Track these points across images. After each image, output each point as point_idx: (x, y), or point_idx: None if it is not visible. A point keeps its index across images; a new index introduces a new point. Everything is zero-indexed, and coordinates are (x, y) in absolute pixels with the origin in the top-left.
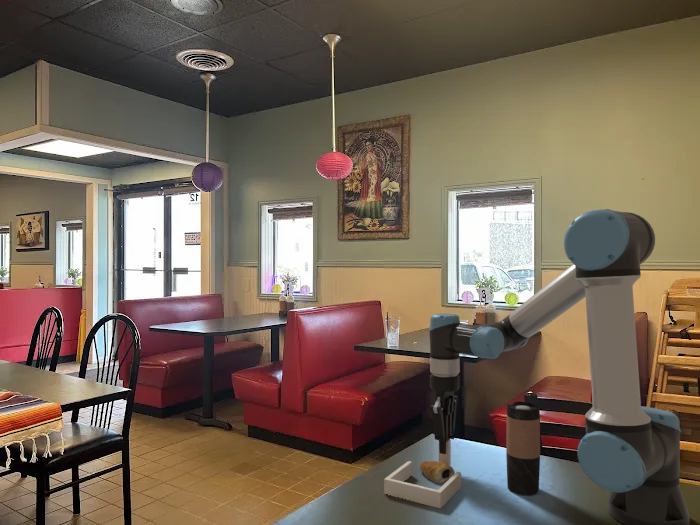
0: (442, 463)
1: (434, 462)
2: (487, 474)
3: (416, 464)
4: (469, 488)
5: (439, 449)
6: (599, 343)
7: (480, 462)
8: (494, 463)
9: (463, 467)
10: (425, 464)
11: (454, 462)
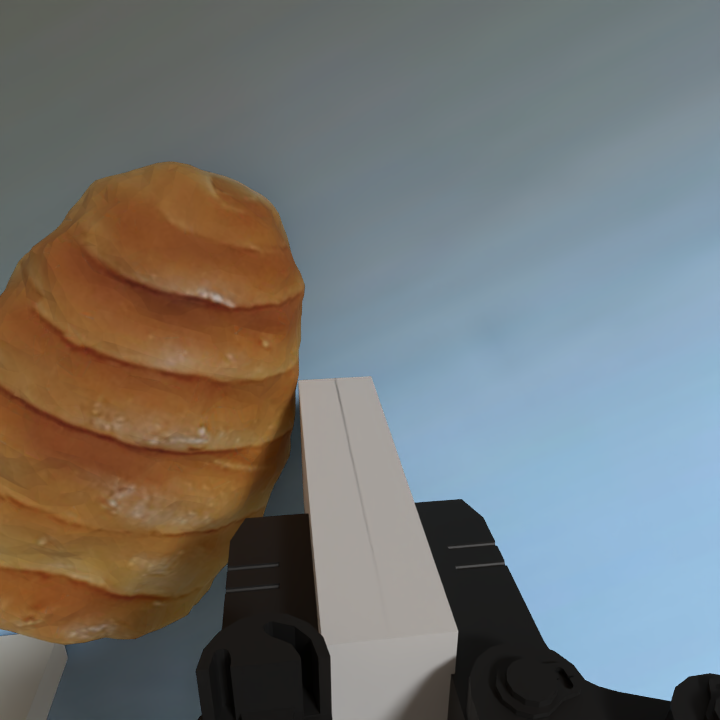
0: (135, 548)
1: (81, 462)
2: None
3: (329, 2)
4: (95, 707)
5: (230, 568)
6: None
7: (696, 562)
8: (711, 644)
9: (515, 501)
10: (45, 317)
11: (607, 384)
